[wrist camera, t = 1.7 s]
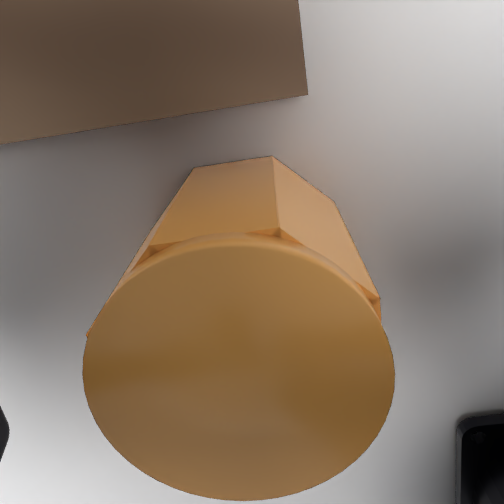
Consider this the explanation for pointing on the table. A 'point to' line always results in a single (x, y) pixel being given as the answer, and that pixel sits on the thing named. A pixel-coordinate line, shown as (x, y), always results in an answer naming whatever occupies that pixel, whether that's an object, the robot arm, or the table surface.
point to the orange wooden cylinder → (242, 341)
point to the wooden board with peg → (141, 61)
